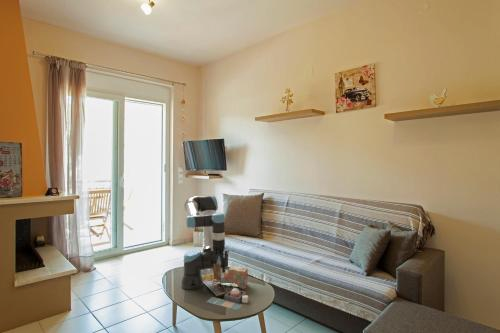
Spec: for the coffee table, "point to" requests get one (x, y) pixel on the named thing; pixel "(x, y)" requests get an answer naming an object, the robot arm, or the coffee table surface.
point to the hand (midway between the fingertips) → (219, 276)
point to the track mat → (224, 303)
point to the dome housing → (234, 299)
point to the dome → (235, 292)
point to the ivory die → (245, 298)
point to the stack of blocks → (235, 276)
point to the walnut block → (217, 271)
